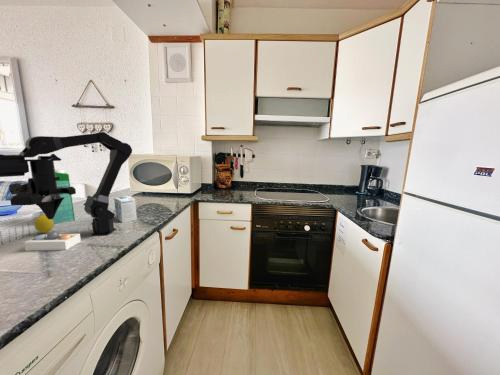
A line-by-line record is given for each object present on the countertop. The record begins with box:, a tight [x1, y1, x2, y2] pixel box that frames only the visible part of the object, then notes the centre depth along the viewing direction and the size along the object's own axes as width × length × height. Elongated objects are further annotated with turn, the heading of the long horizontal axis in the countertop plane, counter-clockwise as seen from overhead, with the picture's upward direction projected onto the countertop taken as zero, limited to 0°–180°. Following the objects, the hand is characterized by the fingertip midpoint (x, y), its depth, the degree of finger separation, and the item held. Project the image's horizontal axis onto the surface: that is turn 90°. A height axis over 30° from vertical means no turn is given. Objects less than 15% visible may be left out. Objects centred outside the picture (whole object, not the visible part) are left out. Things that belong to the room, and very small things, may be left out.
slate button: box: [34, 233, 47, 240], centre depth 74 cm, size 3×3×3 cm
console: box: [23, 233, 82, 252], centre depth 75 cm, size 7×13×3 cm, turn 94°
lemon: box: [34, 214, 55, 234], centre depth 85 cm, size 6×6×8 cm
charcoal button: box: [46, 230, 60, 240], centre depth 74 cm, size 3×3×3 cm
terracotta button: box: [60, 233, 72, 240], centre depth 75 cm, size 3×3×3 cm
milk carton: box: [52, 168, 76, 225], centre depth 100 cm, size 9×9×25 cm
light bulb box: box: [113, 195, 138, 223], centre depth 104 cm, size 11×7×11 cm, turn 47°
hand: (50, 219), depth 73 cm, fingers closed
